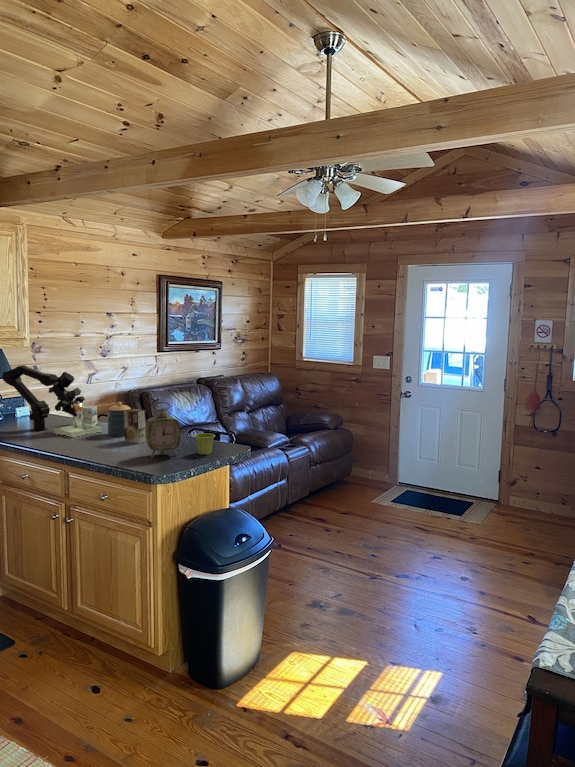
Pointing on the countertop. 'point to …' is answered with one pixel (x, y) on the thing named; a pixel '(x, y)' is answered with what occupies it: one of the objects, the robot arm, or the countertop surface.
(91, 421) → the light bulb box
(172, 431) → the tabletop clock
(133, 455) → the countertop surface
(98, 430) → the cell tray
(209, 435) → the plant pot
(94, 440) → the countertop surface
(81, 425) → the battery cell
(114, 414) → the canister
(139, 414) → the coffee box
